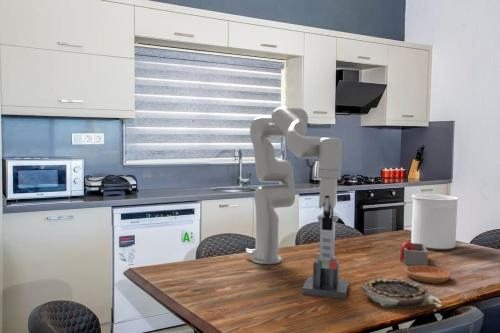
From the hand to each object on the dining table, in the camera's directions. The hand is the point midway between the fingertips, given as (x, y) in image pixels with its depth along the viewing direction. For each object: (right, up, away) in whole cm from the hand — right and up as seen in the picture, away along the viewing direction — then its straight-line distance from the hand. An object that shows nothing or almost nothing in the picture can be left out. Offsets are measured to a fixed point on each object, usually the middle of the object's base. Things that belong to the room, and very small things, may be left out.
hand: (327, 227), depth 157 cm
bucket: (+64, -19, +73) cm, 99 cm away
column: (0, -13, +1) cm, 13 cm away
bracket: (+44, -20, +43) cm, 65 cm away
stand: (0, -21, +1) cm, 21 cm away
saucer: (+40, -22, +18) cm, 49 cm away
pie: (+21, -23, -6) cm, 31 cm away
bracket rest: (+44, -20, +43) cm, 65 cm away
